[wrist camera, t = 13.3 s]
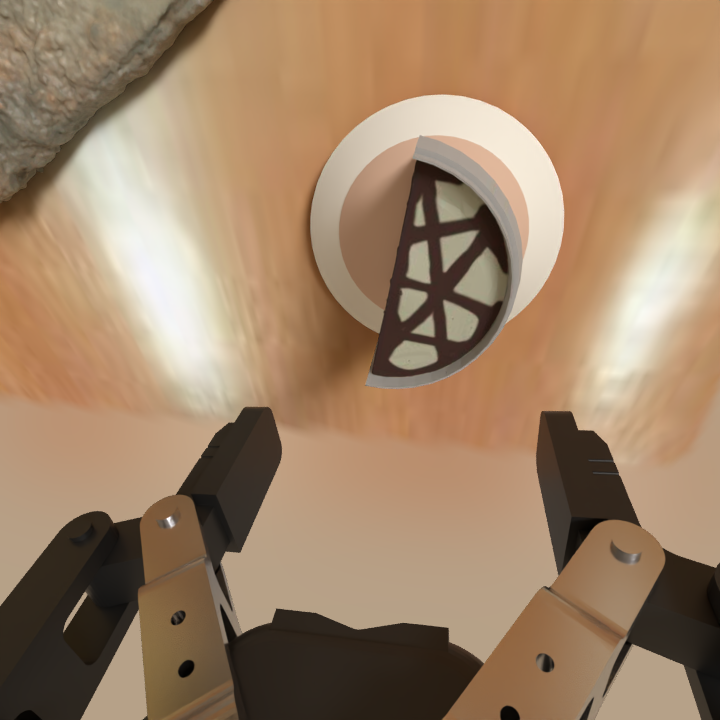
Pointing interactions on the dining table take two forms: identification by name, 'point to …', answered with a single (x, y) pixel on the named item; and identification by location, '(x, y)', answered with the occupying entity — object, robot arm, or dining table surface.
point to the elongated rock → (71, 69)
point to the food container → (447, 271)
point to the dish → (392, 188)
